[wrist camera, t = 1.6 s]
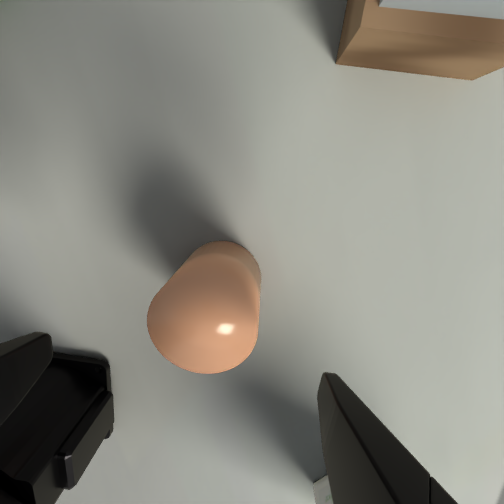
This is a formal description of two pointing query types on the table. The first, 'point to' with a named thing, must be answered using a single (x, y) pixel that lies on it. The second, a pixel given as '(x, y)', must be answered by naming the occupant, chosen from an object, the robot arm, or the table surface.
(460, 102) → the table surface
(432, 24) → the walnut base block
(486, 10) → the slate block
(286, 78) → the table surface
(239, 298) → the tan egg
